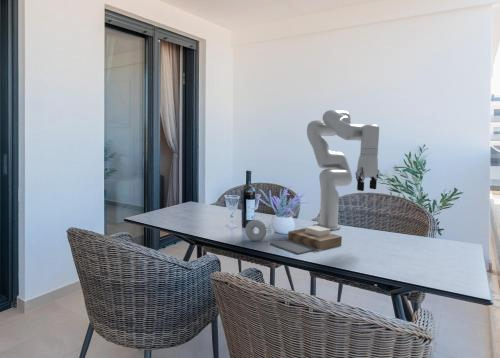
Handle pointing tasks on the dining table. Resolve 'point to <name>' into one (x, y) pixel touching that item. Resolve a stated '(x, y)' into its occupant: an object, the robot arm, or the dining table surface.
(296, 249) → the mat
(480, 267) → the dining table surface
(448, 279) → the dining table surface
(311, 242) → the stand
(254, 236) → the donut
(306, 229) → the tile
